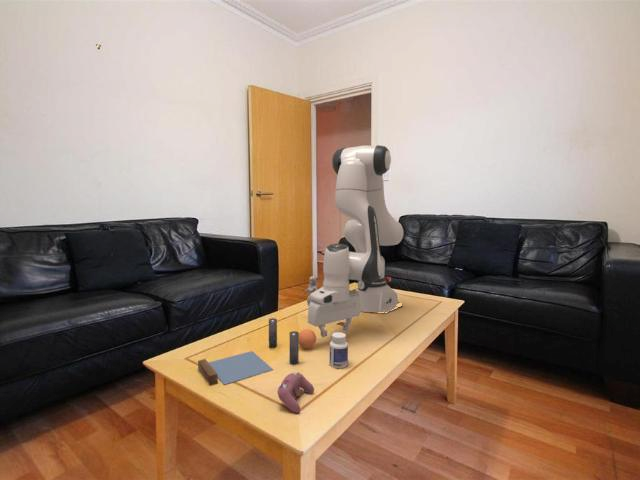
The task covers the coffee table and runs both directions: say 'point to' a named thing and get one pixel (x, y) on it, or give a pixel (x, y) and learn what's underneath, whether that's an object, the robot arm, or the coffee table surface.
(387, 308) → the robot arm
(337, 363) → the pill bottle
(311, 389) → the video game controller
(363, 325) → the coffee table surface
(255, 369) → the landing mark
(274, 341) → the post
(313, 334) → the ball
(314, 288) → the human figurine
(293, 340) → the post
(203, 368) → the stopper
